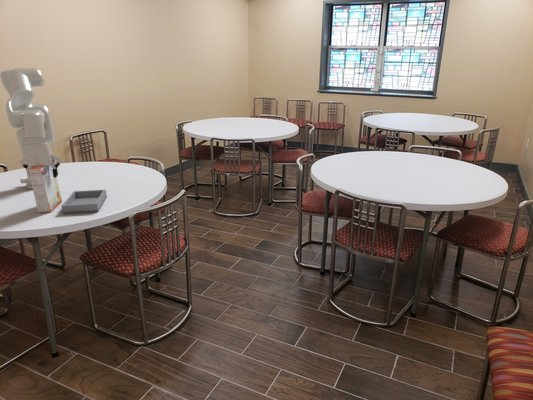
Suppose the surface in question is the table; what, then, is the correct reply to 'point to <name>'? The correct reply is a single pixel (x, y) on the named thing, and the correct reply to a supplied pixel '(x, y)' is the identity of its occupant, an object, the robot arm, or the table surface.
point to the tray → (84, 201)
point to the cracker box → (45, 188)
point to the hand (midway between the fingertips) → (44, 177)
